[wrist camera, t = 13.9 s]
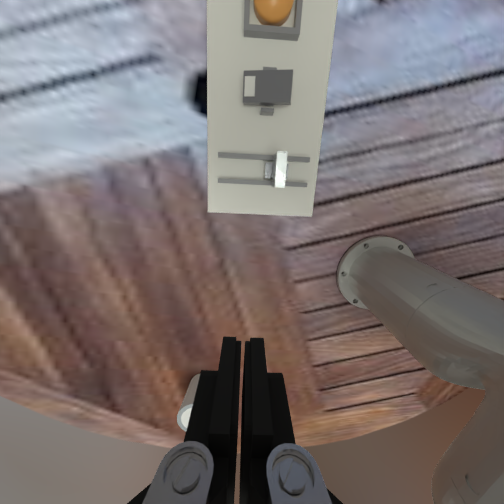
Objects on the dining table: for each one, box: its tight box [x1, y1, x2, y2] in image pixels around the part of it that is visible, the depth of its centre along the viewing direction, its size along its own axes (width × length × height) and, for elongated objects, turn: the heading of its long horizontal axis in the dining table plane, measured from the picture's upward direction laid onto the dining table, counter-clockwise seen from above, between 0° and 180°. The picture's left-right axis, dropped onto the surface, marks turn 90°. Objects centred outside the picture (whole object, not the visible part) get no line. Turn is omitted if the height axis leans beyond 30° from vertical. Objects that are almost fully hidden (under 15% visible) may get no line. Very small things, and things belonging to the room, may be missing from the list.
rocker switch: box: [243, 69, 293, 106], centre depth 28 cm, size 6×3×2 cm, turn 87°
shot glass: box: [177, 374, 200, 431], centre depth 42 cm, size 7×7×7 cm
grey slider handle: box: [264, 151, 289, 188], centre depth 30 cm, size 3×4×5 cm
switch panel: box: [207, 0, 338, 217], centre depth 30 cm, size 15×30×4 cm, turn 177°
